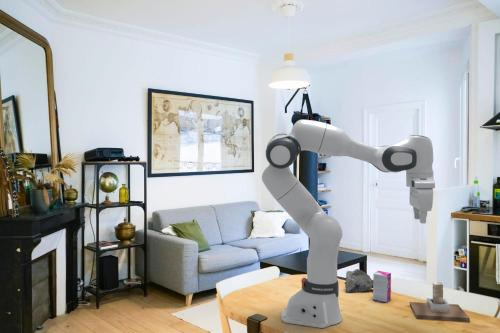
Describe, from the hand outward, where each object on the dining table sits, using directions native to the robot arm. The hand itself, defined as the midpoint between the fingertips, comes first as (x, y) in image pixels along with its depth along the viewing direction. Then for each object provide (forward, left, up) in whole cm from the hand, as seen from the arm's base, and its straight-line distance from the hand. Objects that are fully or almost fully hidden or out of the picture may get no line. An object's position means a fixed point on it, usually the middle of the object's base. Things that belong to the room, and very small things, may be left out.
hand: (419, 221), depth 144 cm
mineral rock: (-18, +36, -37) cm, 55 cm away
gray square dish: (+9, +14, -36) cm, 39 cm away
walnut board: (+9, +14, -37) cm, 41 cm away
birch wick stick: (+9, +14, -36) cm, 39 cm away
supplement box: (-10, +26, -37) cm, 47 cm away
